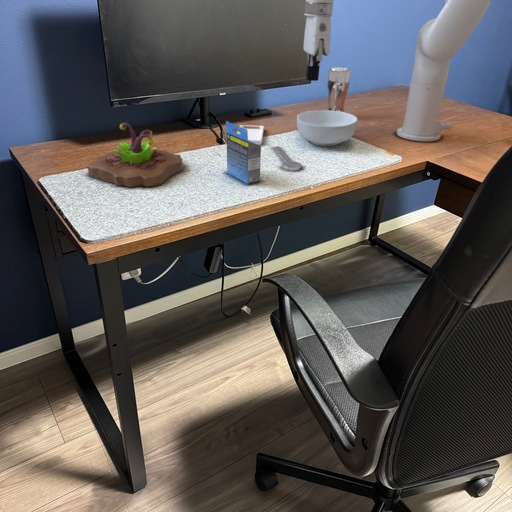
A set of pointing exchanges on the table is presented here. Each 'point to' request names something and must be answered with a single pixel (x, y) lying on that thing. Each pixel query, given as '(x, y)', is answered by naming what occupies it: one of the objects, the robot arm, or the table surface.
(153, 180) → the plant
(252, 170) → the blue cardboard box
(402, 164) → the table surface
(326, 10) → the robot arm
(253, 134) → the phone case
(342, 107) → the beer glass
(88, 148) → the table surface
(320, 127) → the cereal bowl
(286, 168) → the spoon
